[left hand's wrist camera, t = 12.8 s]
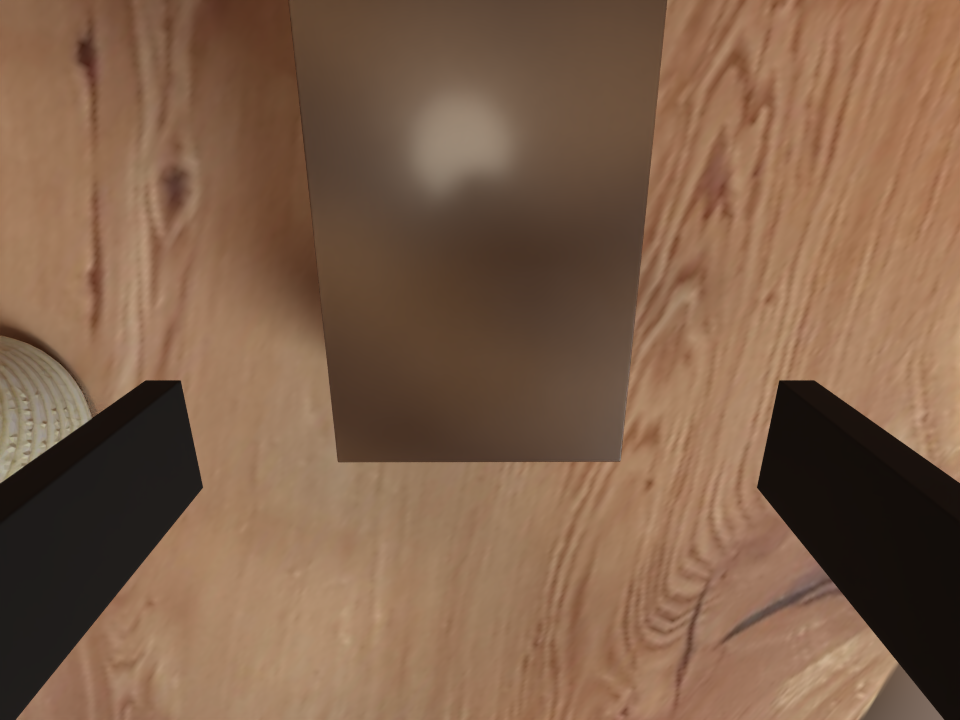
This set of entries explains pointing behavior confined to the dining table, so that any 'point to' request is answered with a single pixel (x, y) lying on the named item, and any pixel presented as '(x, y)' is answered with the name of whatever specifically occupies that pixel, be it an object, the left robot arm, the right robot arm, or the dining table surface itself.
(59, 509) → the left robot arm
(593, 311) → the cabinet
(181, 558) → the dining table surface
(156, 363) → the dining table surface
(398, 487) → the dining table surface
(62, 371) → the seashell
